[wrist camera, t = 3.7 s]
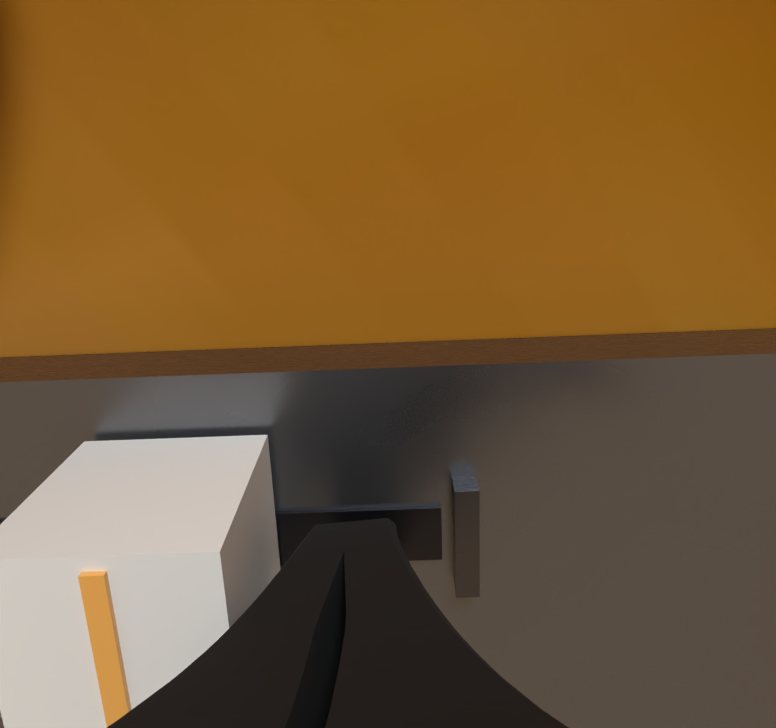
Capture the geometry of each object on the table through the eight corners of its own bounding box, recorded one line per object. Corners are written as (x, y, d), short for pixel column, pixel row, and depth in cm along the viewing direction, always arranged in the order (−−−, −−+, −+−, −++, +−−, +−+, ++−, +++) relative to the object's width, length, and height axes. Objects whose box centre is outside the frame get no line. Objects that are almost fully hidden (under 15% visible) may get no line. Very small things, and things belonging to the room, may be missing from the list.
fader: (267, 434, 12) (218, 556, 8) (287, 641, 13) (251, 822, 9) (84, 441, 12) (-42, 565, 8) (120, 646, 13) (23, 830, 9)
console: (805, 327, 13) (878, 359, 11) (731, 867, 17) (775, 961, 15) (-295, 368, 13) (-411, 407, 11) (-119, 892, 17) (-183, 988, 15)
